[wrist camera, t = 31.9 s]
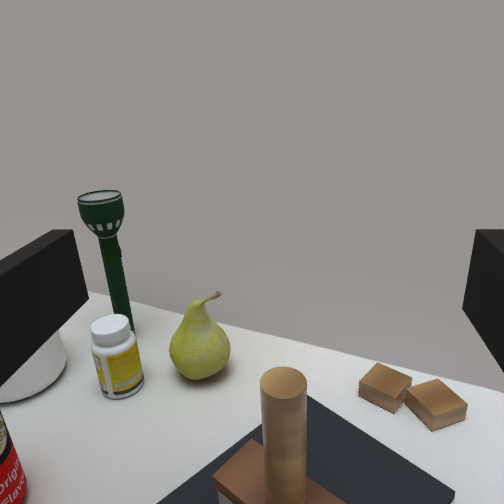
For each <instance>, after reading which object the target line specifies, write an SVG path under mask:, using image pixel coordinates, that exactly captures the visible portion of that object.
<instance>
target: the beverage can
mask: <svg viewBox="0 0 504 504" xmlns="http://www.w3.org/2000/svg"><path fill="white" fill-rule="evenodd" d="M26 484H27V482H26V477H25V474H24V472H23V469H22V466H21V464H20V461H19V458H18V456H17V453H16V450H15V448H14V445H13V442H12V440H11V437H10V435H9V432H8V429H7V427H6V424H5V421H4V419H3V416H2V413H1V411H0V504H21V502H22V500H23V498H24V495H25V492H26Z"/></svg>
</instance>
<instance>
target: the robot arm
mask: <svg viewBox="0 0 504 504" xmlns="http://www.w3.org/2000/svg"><path fill="white" fill-rule="evenodd" d="M88 299H89V297H88V292H87V288H86V284H85V280H84V275H83V271H82V267H81V263H80V259H79V254H78V250H77V245H76V241H75V237H74V232H73V230H51V231H49V232H48V233H46V234H44V235H42V236H41V237H39V238H37V239H36V240H34V241H32V242H31V243H29V244H27V245H25V246H24V247H22V248H20V249H19V250H17V251H15V252H14V253H12V254H10V255H8V256H7V257H5V258H3V259H2V260H0V387H1V386H2V385H3V384H4V383H5V382H6V381H7V380H8V379H9V378H10V377H11V376H12V375H13V374H14V373H15V372H16V371H17V370H18V369H19V368H20V367H21V366H22V365H23V364H24V363H25V362H26V361H27V360H28V359H29V358H30V357H31V356H32V355H33V354H34V353H35V352H36V351H37V350H38V349H39V348H40V347H41V346H42V345H43V344H44V343H45V342H46V341H47V340H48V339H49V338H50V337H51V336H52V335H53V334H54V333H55V332H56V331H57V330H58V329H59V328H60V327H61V326H62V325H63V324H64V323H65V322H66V321H67V320H68V319H69V318H70V317H71V316H72V315H73V314H74V313H75V312H76V311H77V310H78V309H79V308H80V307H81V306H82V305H83V304H84V303H85V302H86V301H87V300H88ZM462 309H463V311H464V312H465V314H466V315H467V317H468V318H469V320H470V321H471V323H472V324H473V326H474V327H475V329H476V331H477V332H478V334H479V335H480V337H481V338H482V340H483V341H484V343H485V344H486V346H487V347H488V349H489V351H490V352H491V354H492V355H493V357H494V358H495V360H496V361H497V363H498V364H499V366H500V368H501V369H502V371H503V372H504V230H503V229H480V230H479V229H477V230H476V233H475V239H474V244H473V250H472V255H471V261H470V267H469V273H468V278H467V285H466V290H465V295H464V301H463V307H462Z"/></svg>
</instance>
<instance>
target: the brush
mask: <svg viewBox="0 0 504 504" xmlns="http://www.w3.org/2000/svg"><path fill="white" fill-rule="evenodd" d="M260 393H261V412H262V431H263V446H262V445H260V444H259V443H257V442H256V441H254V440H253V439H250V440H249V441H248V442H247V443H246V444H245V445H244V446H243V447H242V448H241V449H240V450H239V451H238V452H236V453H235V454H234V455H233V456H232V457H231V458H230V459H229V460H228V461H227V462H226V463H225V464H224V465H223V466H222V467H221V468H220V469H219V470H217V471H216V472H215V473H214V474H213V475H212V479H213V487H214V488H216V489H217V490H218V497H219V504H346V503H345V502H343V501H342V500H340V499H339V498H338V497H336V496H335V495H333V494H332V493H330V492H329V491H327V490H326V489H324V488H323V487H321V486H320V485H319V484H317V483H316V482H314V481H313V480H311V479H310V478H308V477H307V476H306V446H307V381H306V378H305V376H304V375H303V374H302V373H301V372H300V371H298V370H296V369H294V368H290V367H276V368H273V369H270V370H268V371H267V372H265V373H264V374H263V376H262V377H261V380H260Z"/></svg>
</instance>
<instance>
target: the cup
mask: <svg viewBox="0 0 504 504" xmlns="http://www.w3.org/2000/svg"><path fill="white" fill-rule="evenodd" d="M65 363H66V354H65V350H64V347H63V343H62V339H61V336H60V332H59V329H58V330H57V331H56V332H55V333H54V334H53V335H52V336H51V337H50V338H49V339H48V340H47V341H46V342H45V343H44V344H43V345H42V346H41V347H40V348H39V349H38V350H37V351H36V352H35V353H34V354H33V355H32V356H31V357H30V358H29V359H28V360H27V361H26V362H25V363H24V364H23V365H22V366H21V367H20V368H19V369H18V370H17V371H16V372H15V373H14V374H13V375H12V376H11V377H10V378H9V379H8V380H7V381H6V382H5V383H4V384H3V385H2V386H1V387H0V403H6V402H13V401H17V400H21V399H24V398H27V397H29V396H32V395H34V394H36V393H38V392H40V391H41V390H43V389H45V388H46V387H47V386H49V385H50V384H51V383H52V382H54V381H55V380H56V379H57V378H58V376H59V375H60V374H61V372H62V371H63V369H64V366H65Z"/></svg>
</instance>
